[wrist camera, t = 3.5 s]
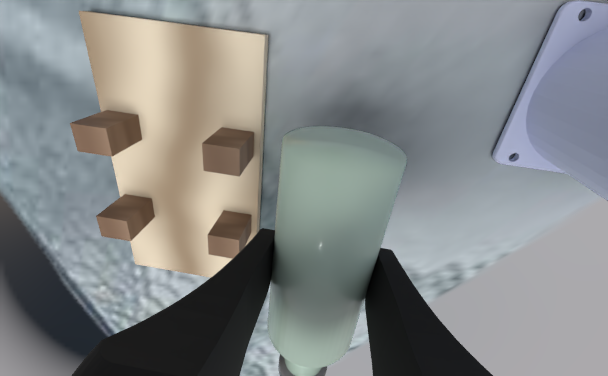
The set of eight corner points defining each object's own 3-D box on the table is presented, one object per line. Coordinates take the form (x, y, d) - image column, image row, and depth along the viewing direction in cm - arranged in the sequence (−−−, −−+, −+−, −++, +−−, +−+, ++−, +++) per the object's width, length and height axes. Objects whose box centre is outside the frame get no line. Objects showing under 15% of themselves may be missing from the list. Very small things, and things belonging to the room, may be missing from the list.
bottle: (388, 132, 11) (426, 182, 8) (335, 334, 18) (344, 412, 14) (285, 121, 11) (277, 167, 8) (268, 330, 17) (259, 408, 14)
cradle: (268, 34, 16) (249, 37, 13) (256, 277, 25) (244, 314, 22) (89, 11, 16) (29, 8, 13) (141, 257, 25) (112, 290, 22)
